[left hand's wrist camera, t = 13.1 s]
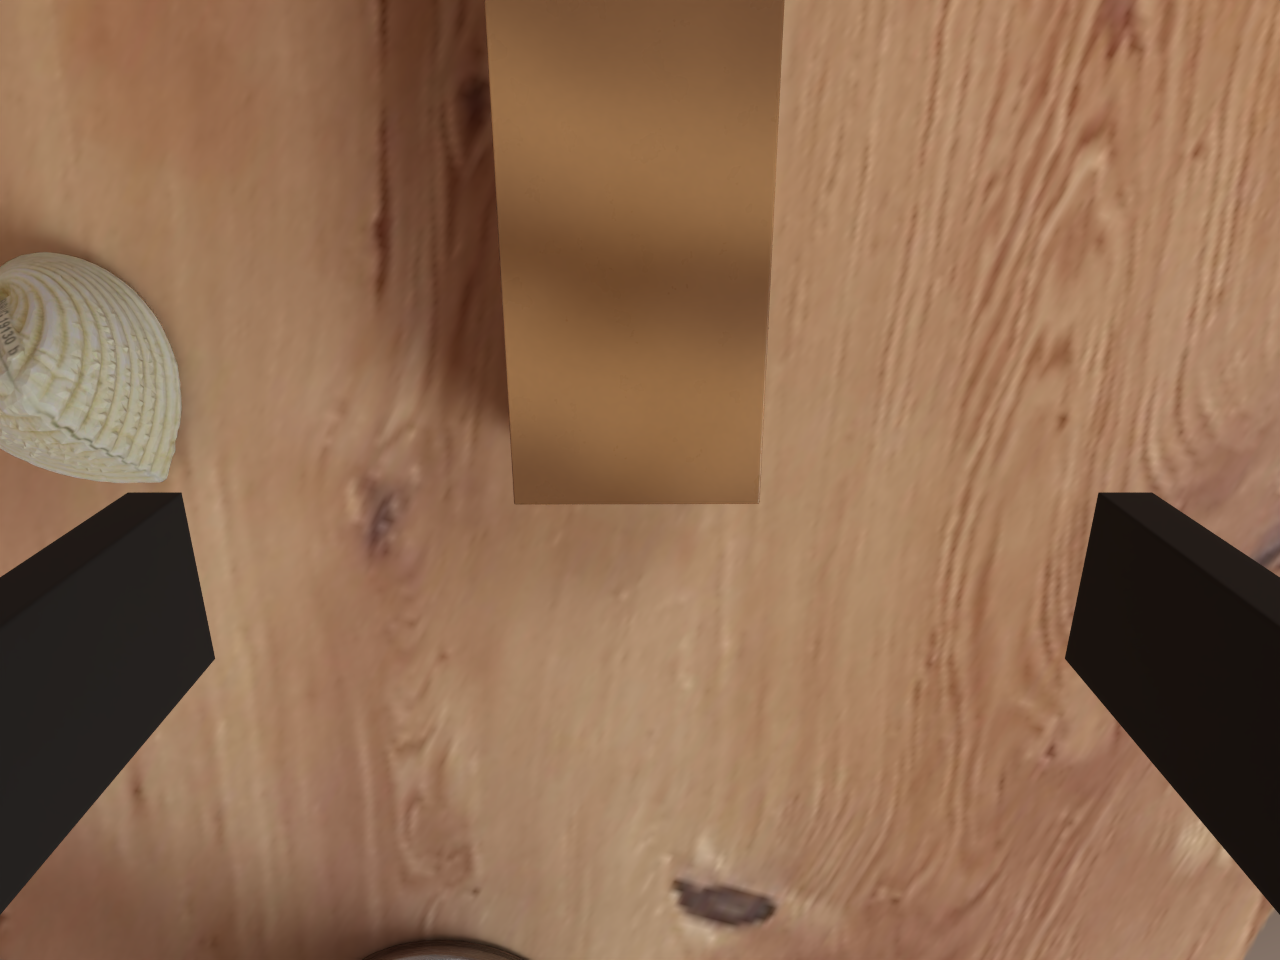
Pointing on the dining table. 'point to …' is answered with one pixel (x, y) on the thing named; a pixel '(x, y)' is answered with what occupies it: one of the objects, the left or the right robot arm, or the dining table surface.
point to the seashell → (84, 373)
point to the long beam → (635, 243)
